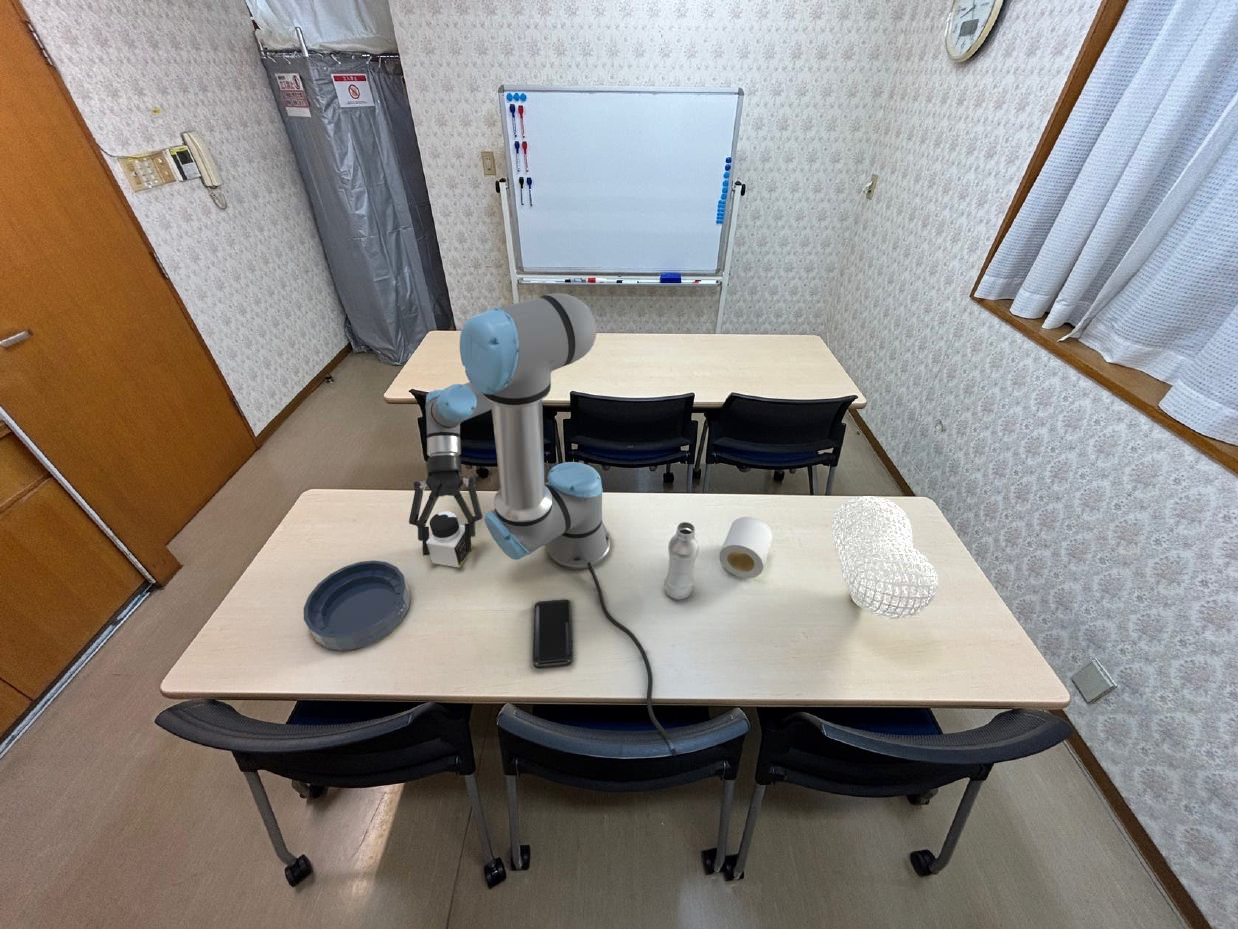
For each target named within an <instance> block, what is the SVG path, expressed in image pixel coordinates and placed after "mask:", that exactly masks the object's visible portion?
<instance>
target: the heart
mask: <svg viewBox="0 0 1238 929" xmlns="http://www.w3.org/2000/svg"><path fill="white" fill-rule="evenodd" d="M861 501H862V502H861ZM863 507H864V508H863ZM857 508H858V509H859V510H856V509H857ZM885 510H886V511H885ZM890 511H891V512H892V513H893V514H891V512H890ZM860 515H861V516H862V517H860ZM886 517H888V518H889V521H887V519H886ZM868 518H869V519H868ZM873 518H875V521H874V520H873ZM866 519H868V520H869V521H867V520H866ZM860 523H861V525H860ZM844 525H845V526H844ZM853 525H855V528H853ZM883 525H884V526H885V527H883ZM870 526H872V527H873V528H871V529H870ZM864 527H865V528H866V530H865V529H864ZM899 528H900V530H899ZM877 531H879V533H878V532H877ZM884 531H885V533H884ZM858 532H859V533H858ZM864 534H867V535H866V536H865V537H864ZM860 536H861V537H860ZM831 537H832V541H833V545H834V546H833V547H834V549H835V553H836V556H837V560H838V563H839V567H840V571H841V574H842V577H843V581H844V584H845V587H846V588H847V591H848V593H849V595H850V597H851V599H852V601H853V602H854V604H855V605H857V606H858V607H859V608H861V609H863V610H864V611H866V612H868V614H869V613H870V614H871V615H874V616H876V617H878V618H883V619H888V620H893V619H894V620H898V619H900V620H901V619H906V618H909V617H912V616H915V615H917V614H919V613H921V612H922V611H924V610H925V609H926V608H927V607H928V606H929V605H930V604H931V603H932V602H933V601H934V599H935V596H936V594H937V592H938V589H939V579H938V575H937V573H936V570H935V568H934V566H933V565H932V564H931V562H930V561H929V560H928V559H927V557H926V556H925V555H924V554H923V553H921V552H920V551H919V550H918V549H917V548H916V547H914V544H913V531H912V526H911V522H910V518H909V517H908V516H907V514H906V513H905V512H904V511H903V509H902V508H901V507H900V506H898V504H896V503H895V502H892V501H891V500H889V499H886V498H884V497H879V496H873V495H863V496H857V497H854V498H851V499H849V500H848V501H846V502H844V503H843V504H842V505H841V506H839V507H838V509H837V510H836V512H835V513H834V516H833V518H832V522H831ZM875 537H876V538H875ZM844 541H845V542H844ZM852 541H854V542H852ZM859 543H860V544H859ZM869 543H870V544H869ZM871 552H872V553H871ZM865 553H866V554H865ZM886 555H887V556H886ZM875 556H879V557H875ZM883 556H885V557H883ZM906 556H907V557H906ZM893 557H895V558H896V559H895V560H894V559H893ZM868 559H870V560H868ZM902 559H903V560H902ZM875 563H877V564H875ZM886 563H888V564H886ZM896 564H898V566H896ZM880 565H881V567H882V568H880V567H879V566H880ZM903 565H905V566H906V567H905V568H903ZM862 566H863V568H862ZM867 566H869V567H868V569H867ZM917 566H918V568H917ZM889 567H890V568H889ZM910 567H912V568H910ZM871 568H872V569H871ZM898 570H899V571H898ZM854 572H855V573H854ZM877 572H878V573H877ZM886 573H887V574H886ZM869 574H871V575H870V577H869ZM895 574H896V576H895ZM881 575H882V576H883V577H882V578H881V579H880V578H879V577H880V576H881ZM873 576H874V578H873ZM889 576H890V578H891V579H890V580H889V579H888V577H889ZM903 576H904V577H903ZM918 576H919V579H918ZM925 576H926V577H925ZM911 577H912V579H911ZM897 579H898V581H899V582H896V580H897ZM863 581H864V583H863ZM905 582H906V583H905ZM914 582H915V584H913V583H914ZM869 584H870V585H869ZM879 585H880V586H881V587H879V588H878V586H879ZM872 586H873V587H872ZM887 586H888V589H887ZM891 586H892V587H891ZM898 587H900V590H899V589H898ZM886 589H887V590H886ZM906 590H907V591H906ZM920 592H921V593H920ZM903 593H904V595H903ZM912 593H913V595H912V596H911V594H912ZM919 594H920V595H919ZM894 598H896V599H897V600H893V599H894ZM887 599H889V601H887ZM904 599H906V600H905V602H904V603H902V601H903V600H904ZM912 600H913V601H912ZM909 603H911V604H910V605H908V604H909ZM916 603H917V604H916Z"/></svg>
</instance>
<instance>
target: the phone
mask: <svg viewBox="0 0 1238 929" xmlns="http://www.w3.org/2000/svg"><path fill="white" fill-rule="evenodd" d="M533 614H534V617H533V642H532V665H533V666H534V667H535V668H538V669H539V668H540V669H541V668H553V667H564V666H570V665H571V664H572V663H573V661H574V659H573V656H574V651H573V649H574V647H573V646H574V645H573V644H574V642H573V640H574V639H573V628H572V627H573V626H572V625H573V624H572V603H571V601H570V600H569V599H554V600H553V599H552V600H540V601H537V602H536V603H535V604H534V613H533Z"/></svg>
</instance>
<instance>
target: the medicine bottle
mask: <svg viewBox="0 0 1238 929" xmlns="http://www.w3.org/2000/svg"><path fill="white" fill-rule="evenodd" d="M429 528H430V531H431V534H430V535H429V539H428V540H427V542H426V544H427V547H428V550H429V553H430V555H429V557H430V559H431V562H432V564H436V565H443V566H446V567H447V566H449V567H455V568H461V567H462V565H463V563H464V562H465V560H466V559H467V557H468V555H469V553H470V552H466V547H465V524H460V523H459V519H458V516H457V515H456V513H454V512H452V511H447V510H445V511H440V512H437V513H436V514H434V515H433V516H432V517H431V518H430V520H429ZM472 548H473V542H472V541H471V549H472Z"/></svg>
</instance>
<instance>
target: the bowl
mask: <svg viewBox="0 0 1238 929" xmlns="http://www.w3.org/2000/svg"><path fill="white" fill-rule="evenodd" d="M306 598H307V599H306V601H305V603H304V606H303V621H304V623H305V625H306V626H307V628H308V630H309V631H310V633H311V634H312V637H313V638H314V639H315V641H316V642H317V643H318V644H320V645H321V646H323V647H325V648H326V649H330V650H336V651H350V650H357V649H361V648H363V647H366V646H369V645H372V644H374V643H376V642H378V641H379V640H381V639H383V638H384V637H386V636H388V635H389V634H390V633H391V632H392V631H393V630H394V629H395V628H396V627H397V626H399V624H400V623H401V622H402V621H403V619H404V617H405V615H406V614H407V612H408V610H409V607H410V603H411V594H410V589H409V586H408V583H407V580H406V577H405V576H404V573H402V571H401V570H400V569H399V568H398V567H397V566H396V565H393V564H392V563H389V561H381V560H373V559H372V560H365V561H364V560H363V561H358V562H354V563H351V564H348V565H345V566H342V567H341V568H339V569H337V570H335V571H333V572H331V573H330V574H329V575H327V576H326V577H325V578H323V579H322V580H321V581H320V582H319V583H317V585H315V587H314V588H313V590H312V591H311V592H310V593H309V594H308V597H306Z"/></svg>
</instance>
